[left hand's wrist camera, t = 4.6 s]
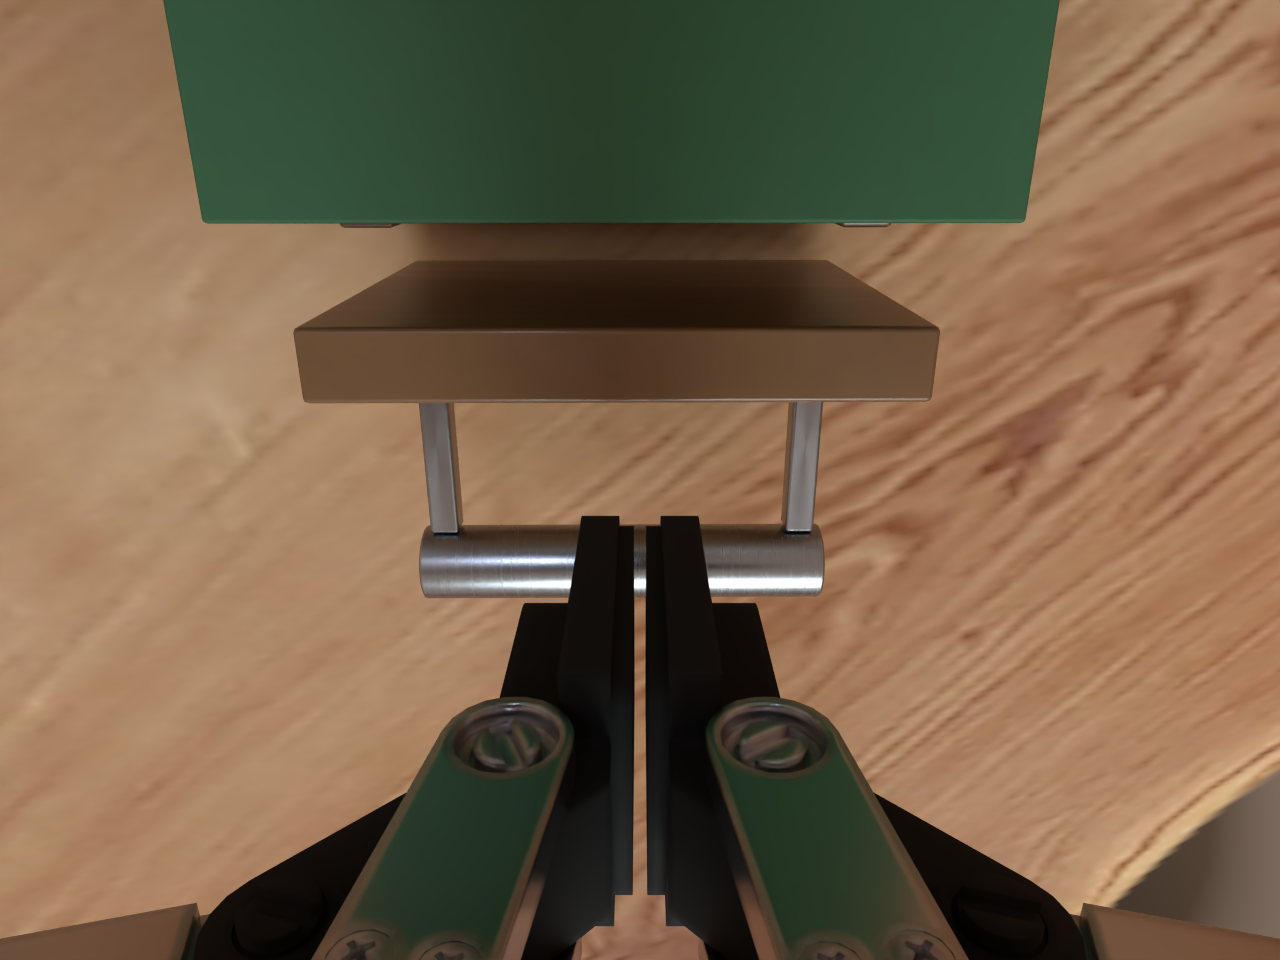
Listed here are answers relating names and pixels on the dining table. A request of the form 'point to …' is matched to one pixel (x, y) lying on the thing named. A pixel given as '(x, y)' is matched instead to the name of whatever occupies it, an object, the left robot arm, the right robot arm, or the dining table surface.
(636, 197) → the cabinet
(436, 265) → the drawer
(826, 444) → the dining table surface
